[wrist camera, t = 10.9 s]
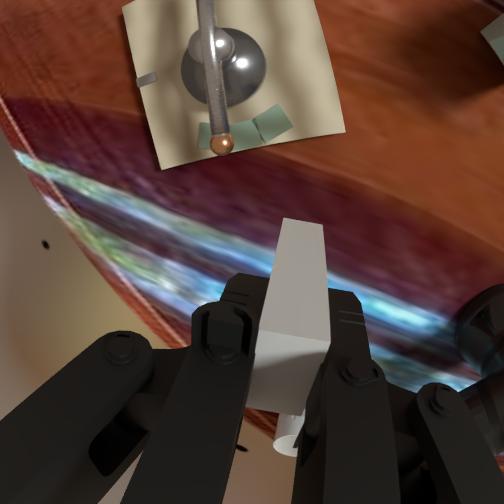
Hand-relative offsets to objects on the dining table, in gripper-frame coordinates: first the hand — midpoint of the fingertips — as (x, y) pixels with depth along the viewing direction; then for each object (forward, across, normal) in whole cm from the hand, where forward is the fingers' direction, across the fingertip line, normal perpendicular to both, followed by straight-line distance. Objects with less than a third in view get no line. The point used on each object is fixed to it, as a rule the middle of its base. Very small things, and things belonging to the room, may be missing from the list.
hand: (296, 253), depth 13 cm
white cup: (+27, +8, -43) cm, 51 cm away
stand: (+26, -10, +11) cm, 30 cm away
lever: (+24, -10, +10) cm, 28 cm away
